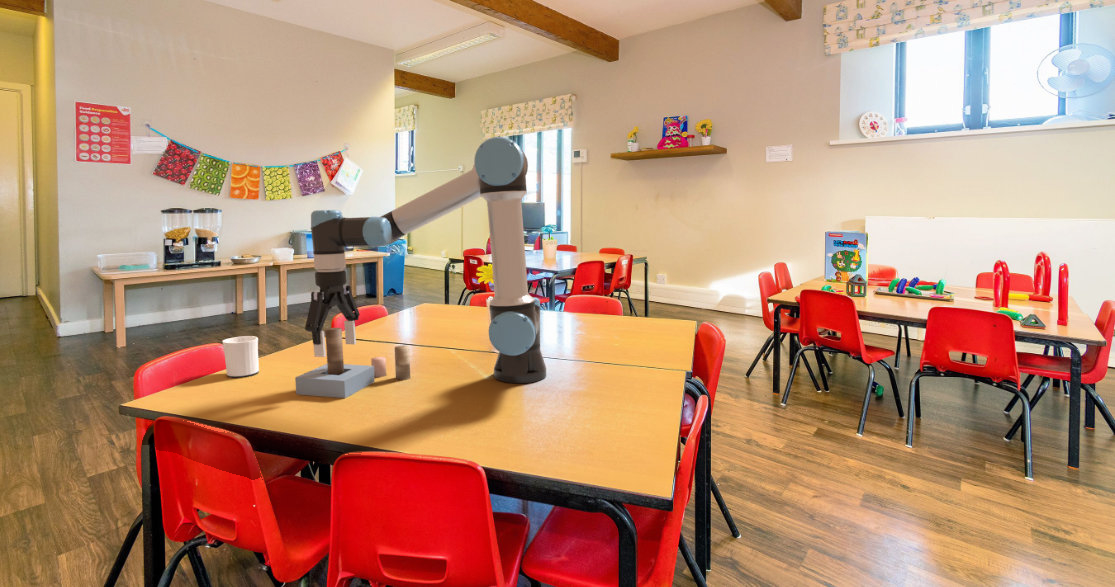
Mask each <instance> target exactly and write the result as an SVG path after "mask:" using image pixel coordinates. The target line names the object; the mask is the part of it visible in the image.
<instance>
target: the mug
mask: <svg viewBox="0 0 1115 587" xmlns="http://www.w3.org/2000/svg"><path fill="white" fill-rule="evenodd" d="M222 346H223V352H224V360H225V369H226V376H227V378H229V377H231V378H230V379H243V377H244V378H249V376H250V377H253V376H255V375H258V374H259V372H260V368H259V367H260V365H259V338H258V337H257V336H253V335H244V336H236V337H235V336H234V337H230V338H225V339H223V340H222Z"/></svg>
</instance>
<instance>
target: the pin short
mask: <svg viewBox="0 0 1115 587" xmlns="http://www.w3.org/2000/svg"><path fill="white" fill-rule="evenodd" d="M370 361H371V365H370V366H374V378H384V377H385V376H387V358H386V357H385V356H375V357H372V358H371V359H370Z"/></svg>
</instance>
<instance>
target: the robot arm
mask: <svg viewBox="0 0 1115 587" xmlns="http://www.w3.org/2000/svg"><path fill="white" fill-rule="evenodd" d="M528 168H529V162H528V159H527V156H526V154H525V152H524V150H522V149H521V146H519V145H518V143H517V142H515V140H512V139H510V138H508V137H503V136H493V137H490V138H488V139H486V140H485V141H483V142H482V143H480V145H479V146H478V148H477V149H476V152H475V155H474V163H473V166H472V169H471V170H468V171H467V172H464V173H463V174H461V175H459V176H457V177H455V178H453V179H451V180H449V181H447V182H445V183H443V184H441V185H439V186H437V187H435V188H434V189H432V190H430V191H428V192H426V193H423V194H422V195H421V196H418V197H416V198H414V199H412V200H410V201H408V202H406V203H404V204H402V205H401V206H398V207H397V208H395V209H393V210H391V211H389V212H388V213H385V214H383V215H381V216H368V217H367V216H366V217H365V216H363V217H344V216H343V213H342V210H340V209H339V210H338V209H336V210H335V209H331V210H330V209H325V210H324V209H321V210H320V209H319V210H318V209H317V210H313V211H312V212H311V214H310V230H311V239H312V241H311V242H312V249H313V252H312V253H313V266H314V269H315V270H316V271H315V273H314V280H315V283H314V284H315V285H316V286H317V287H319V291H312V292H311V294H310V305H309V309H308V314H307V318H306V323H305V326H304V330H305V331H307V332H308V333H309V332H310V333H311V337H312V344H313V352H314V357H318V358H319V357H320V358H325V357H327V350H326V337H325V330H323V327H324V325H325V323H326V319H327V317H328V314H329V312H330V310H331V309H333V307H337V308H338V309H339V311H340V313H341V314H342V315H343V316H344V318H345V320H344V321H343V322H344V323H343V324H344V325H343V326H344V336H345V338H344V340H345V345H357V338H356V321H358V320H359V319H360V310H359V309H358V306H357V304H356V300H355V298H354V296H353V295H354V294H353V293H352V287H351V285H347V281H348V279H347V271H346V270H345V269H346V267H347V264H346V251H345V248H349V247H351V248H356V247H357V248H360V247H361V248H363V247H364V248H367V247H368V248H371V247H372V248H380V247H387V246H388V245H391V244H394V243H397V241H398V240H400V238H403V237H404V236H406V235H408V234H410V233H412V232H414V231H416V230H419V229H420V228H422V227H424V226H425V225H426V226H427V225H428V224H430V223H431V222H434V221H436V220H438V219H440V218H441V217H443V216H446V215H448V214H450V213H452V212H454V211H455V210H458V209H459V208H462V207H463V206H466V205H468V204H469V203H472V202H473V201H475V200H478V199H479V198H481V197H482V199H483V200H485V201H486V206H487V217H488V229H489V230H488V231H489V242H490V255H491V264H492V265H491V266H492V267H491V268H492V278H493V290H494V296H493V298H492V299H491V300H490V301H489V315H490V323H489V326H488V338H489V342H490V344H491V346H492V347H493V348H494V349H495V350H496V351H498V355H497V358H496V361H495V364H494V368H493V378H494V379H495V380H497V381H499V382H503V383H509V384H526V383H527V384H528V383H534V382H535V383H536V382H539V381H542V380H544V379H545V378H546V377H547V366H546V362H545V360H544V357H543V354H542V350H541V309H542V306H541V300H540V299H539V298H538V297H535V296H534V297H533V296H531V295H530V294H529V289H528V274H527V261H526V249H525V233H524V220H523V219H524V218H523V207H522V204H523V203H522V199H523V198H524V197H525V196H526V194H527V193H528V192H527V177H526V175H527V174H528V170H529V169H528Z"/></svg>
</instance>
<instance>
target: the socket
mask: <svg viewBox="0 0 1115 587" xmlns="http://www.w3.org/2000/svg"><path fill="white" fill-rule="evenodd" d="M294 378H295V392H296V395H300V396H301V395H302V396H315V397H328V398H340V399H346V398H348V397H350V396H353V395H354V394H355V393H357V392H358V391H360V390H363V389H364V388H366V387H368V386H370V385H372V384H373V383H375V377H374V366H371V365H364V364H348V363H346V364H345V363H344V373H343V374H341V375H328V367H327V363H325V364H323V365H322V366H319V367H317V368H313V369H311V370H309V371H307V372H305V373H303V374H300V375H298V376H295V377H294Z"/></svg>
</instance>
